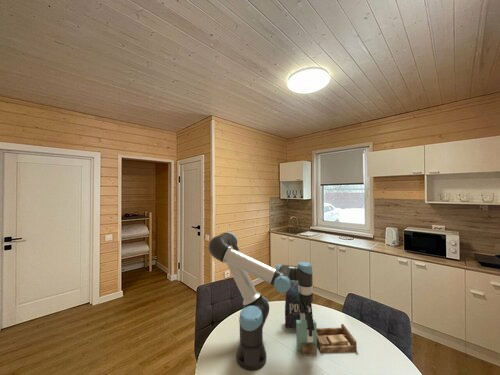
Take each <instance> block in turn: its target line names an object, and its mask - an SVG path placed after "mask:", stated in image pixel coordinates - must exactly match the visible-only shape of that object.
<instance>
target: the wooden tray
mask: <svg viewBox="0 0 500 375" xmlns="http://www.w3.org/2000/svg"><path fill="white" fill-rule="evenodd" d="M340 334H342V335H343V336H344V337H345V338H346V339H347V340H348V342H349V343H350V345H341V346H330V345H329V346H322V341H321V339H320V337H319V336H325V337H326V339H327V336H330V335H340ZM327 341H328V340H327ZM317 350H318V351H319V353H322V354H323V353H325V354H326V353H348V352H349V353H350V352H351V353H353V352H357V351H358V350H357V340H356V339H355V338H354V336H353V335H352V334H351V332H350V331H349V330H348V328H347V327H346V326H345V324H344V323H341V324H340V327H322V328H321V327H317Z"/></svg>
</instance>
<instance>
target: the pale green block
mask: <svg viewBox="0 0 500 375" xmlns="http://www.w3.org/2000/svg"><path fill="white" fill-rule="evenodd" d="M313 323H314V331H313V342H307V329H306V328H308V327H307V321H306V320H296V329H295V330H296V349H297V351H301V344H315V346H316V351H317V350H318V347H317V328H318V327H317V321H316V319H313Z"/></svg>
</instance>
